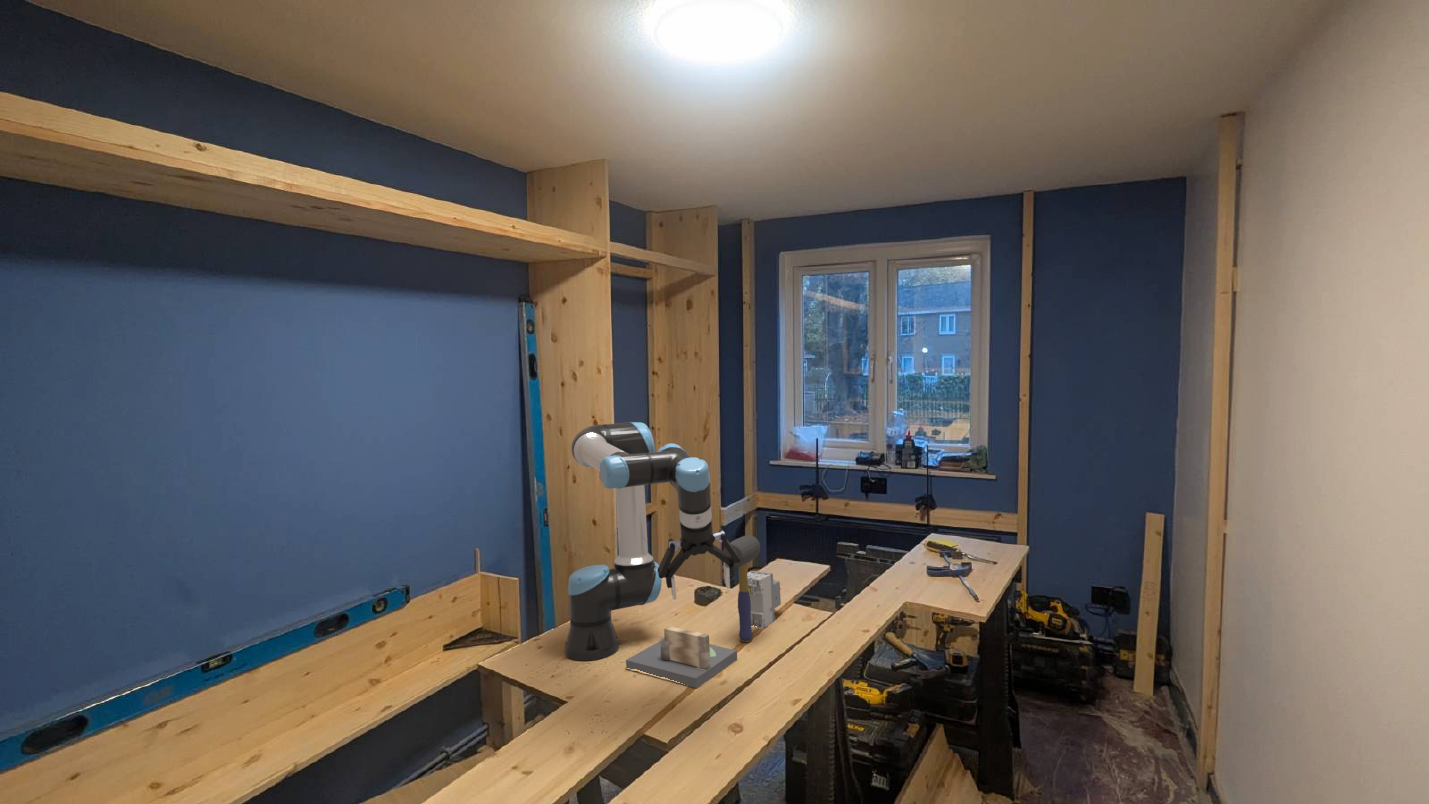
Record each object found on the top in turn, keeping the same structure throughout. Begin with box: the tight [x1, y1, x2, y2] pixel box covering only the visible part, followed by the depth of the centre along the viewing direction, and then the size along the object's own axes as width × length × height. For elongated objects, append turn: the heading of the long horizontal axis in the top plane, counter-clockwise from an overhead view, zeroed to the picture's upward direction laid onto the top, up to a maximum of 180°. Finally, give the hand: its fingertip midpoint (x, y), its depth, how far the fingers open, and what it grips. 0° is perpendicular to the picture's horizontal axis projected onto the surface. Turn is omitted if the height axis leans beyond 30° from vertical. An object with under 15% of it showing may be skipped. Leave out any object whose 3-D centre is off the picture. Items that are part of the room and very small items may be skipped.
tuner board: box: [625, 640, 738, 689], centre depth 171 cm, size 23×19×2 cm
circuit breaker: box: [747, 570, 782, 630], centre depth 201 cm, size 8×14×15 cm, turn 148°
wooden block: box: [659, 626, 710, 669], centre depth 166 cm, size 15×4×8 cm, turn 56°
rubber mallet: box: [722, 535, 761, 643], centre depth 185 cm, size 12×8×30 cm, turn 151°
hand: (700, 590), depth 159 cm, fingers open, 13 cm apart
